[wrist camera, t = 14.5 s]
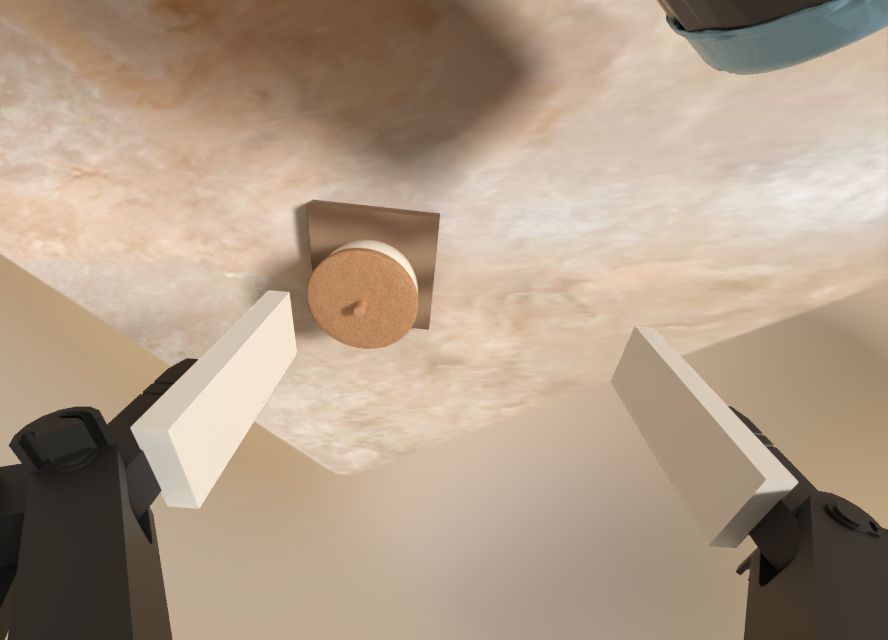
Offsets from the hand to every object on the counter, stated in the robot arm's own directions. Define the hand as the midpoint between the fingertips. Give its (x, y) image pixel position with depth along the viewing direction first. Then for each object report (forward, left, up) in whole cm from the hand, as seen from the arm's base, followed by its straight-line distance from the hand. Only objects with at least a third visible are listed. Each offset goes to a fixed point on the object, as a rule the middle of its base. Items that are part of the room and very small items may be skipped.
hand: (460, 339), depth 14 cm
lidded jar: (+12, -3, -27) cm, 30 cm away
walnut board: (+12, -4, -29) cm, 31 cm away
